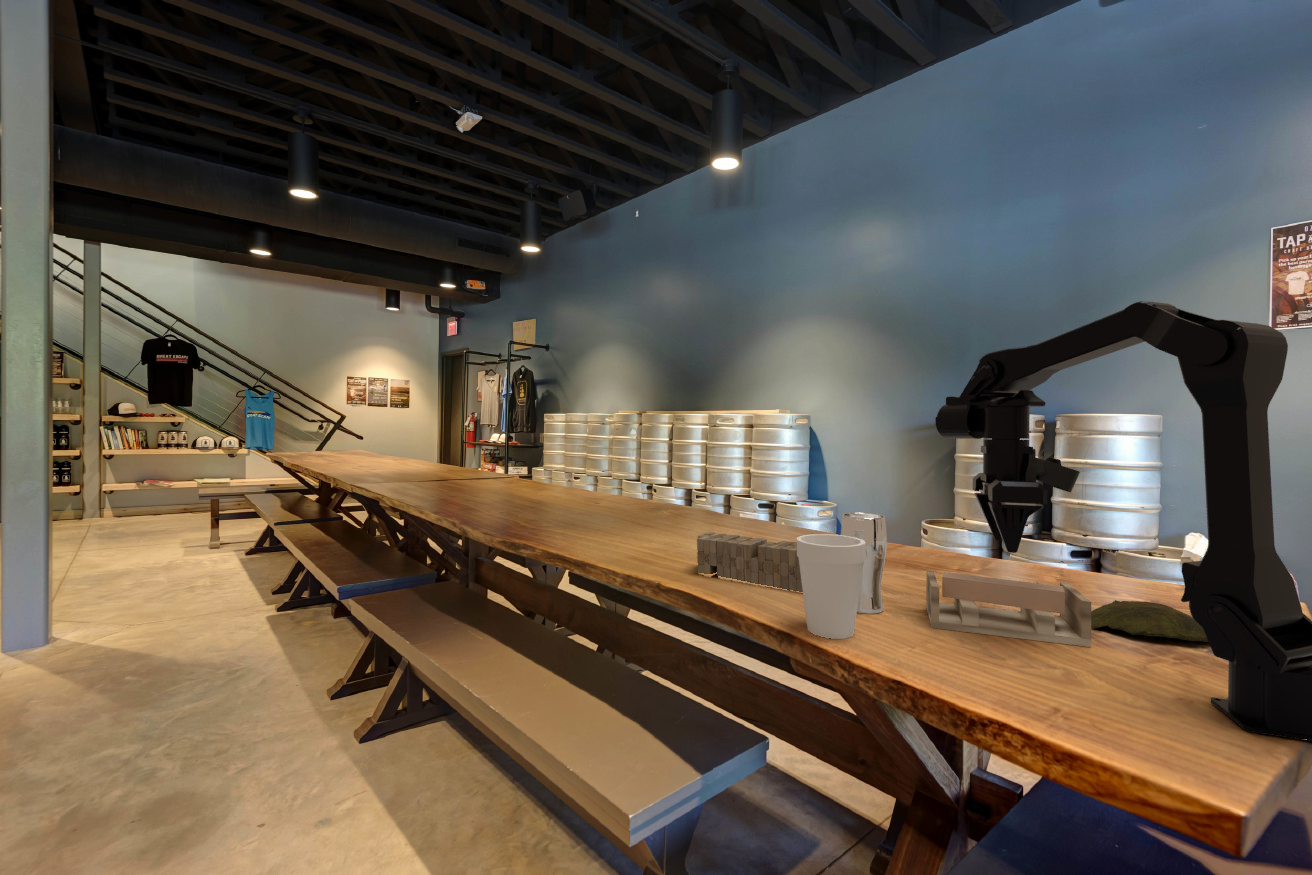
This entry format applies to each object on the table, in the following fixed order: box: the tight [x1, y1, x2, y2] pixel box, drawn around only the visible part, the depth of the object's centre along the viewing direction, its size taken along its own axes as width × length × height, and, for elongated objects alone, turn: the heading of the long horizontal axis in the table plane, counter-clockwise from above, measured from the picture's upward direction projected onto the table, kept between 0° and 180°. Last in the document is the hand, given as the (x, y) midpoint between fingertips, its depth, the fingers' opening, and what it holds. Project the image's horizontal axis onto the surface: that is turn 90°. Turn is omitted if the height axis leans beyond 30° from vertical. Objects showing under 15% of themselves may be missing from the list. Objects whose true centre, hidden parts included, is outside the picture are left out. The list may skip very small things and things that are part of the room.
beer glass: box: [840, 512, 888, 615], centre depth 90 cm, size 7×7×15 cm
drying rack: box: [925, 570, 1092, 648], centre depth 82 cm, size 10×19×6 cm, turn 68°
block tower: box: [696, 531, 803, 592], centre depth 106 cm, size 8×8×29 cm
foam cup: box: [796, 533, 866, 640], centre depth 79 cm, size 10×9×13 cm
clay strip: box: [941, 571, 1065, 614], centre depth 82 cm, size 15×4×3 cm, turn 58°
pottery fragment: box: [1091, 599, 1209, 643], centre depth 80 cm, size 13×14×4 cm
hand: (1005, 546), depth 81 cm, fingers open, 9 cm apart
